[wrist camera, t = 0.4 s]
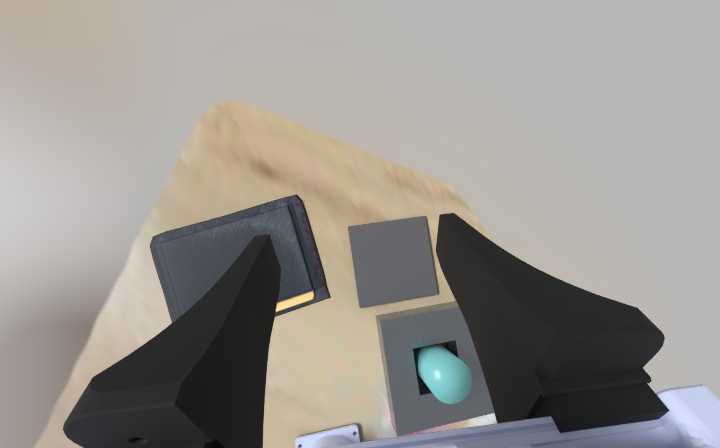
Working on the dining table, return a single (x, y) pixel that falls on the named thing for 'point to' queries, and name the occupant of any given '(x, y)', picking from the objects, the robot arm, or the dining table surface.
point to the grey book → (227, 241)
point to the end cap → (443, 373)
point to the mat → (392, 261)
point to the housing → (406, 397)
